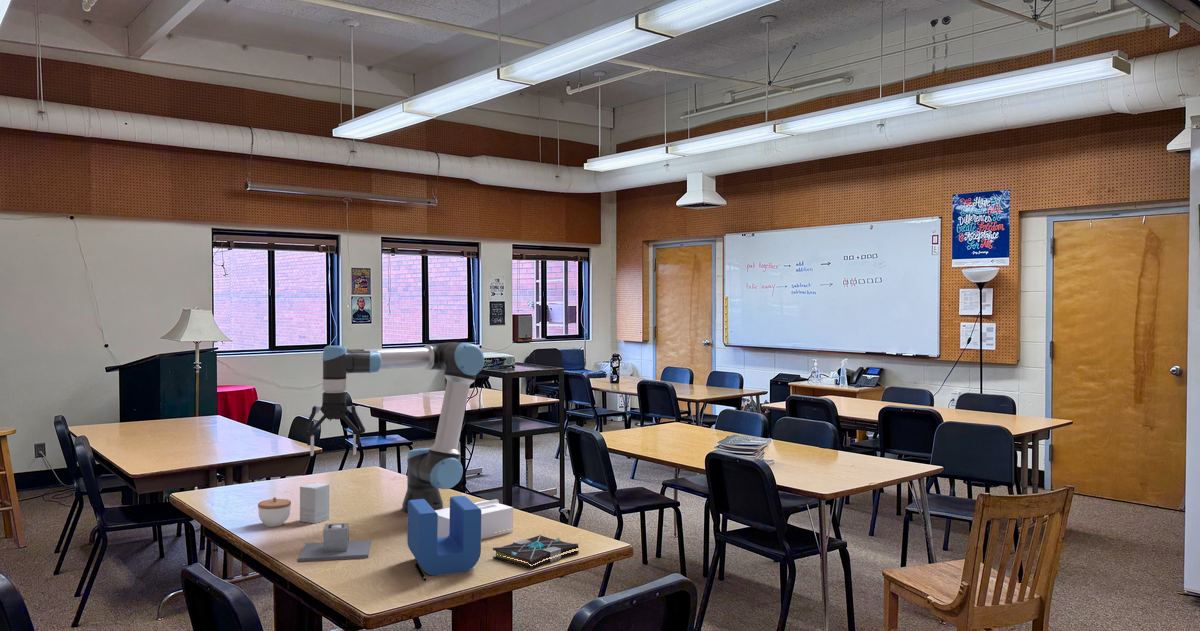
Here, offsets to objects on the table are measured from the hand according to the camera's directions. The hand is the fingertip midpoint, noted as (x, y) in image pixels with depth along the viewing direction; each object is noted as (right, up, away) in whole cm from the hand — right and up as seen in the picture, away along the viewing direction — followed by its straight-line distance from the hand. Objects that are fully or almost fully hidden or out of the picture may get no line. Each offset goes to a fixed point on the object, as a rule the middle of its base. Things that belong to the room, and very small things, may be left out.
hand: (333, 454), depth 265 cm
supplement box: (-13, -27, +18) cm, 35 cm away
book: (+70, -28, -21) cm, 78 cm away
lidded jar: (-25, -27, +12) cm, 38 cm away
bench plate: (+7, -27, -20) cm, 34 cm away
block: (+43, -28, -31) cm, 60 cm away
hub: (+7, -26, -20) cm, 33 cm away
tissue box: (+46, -28, +2) cm, 54 cm away
